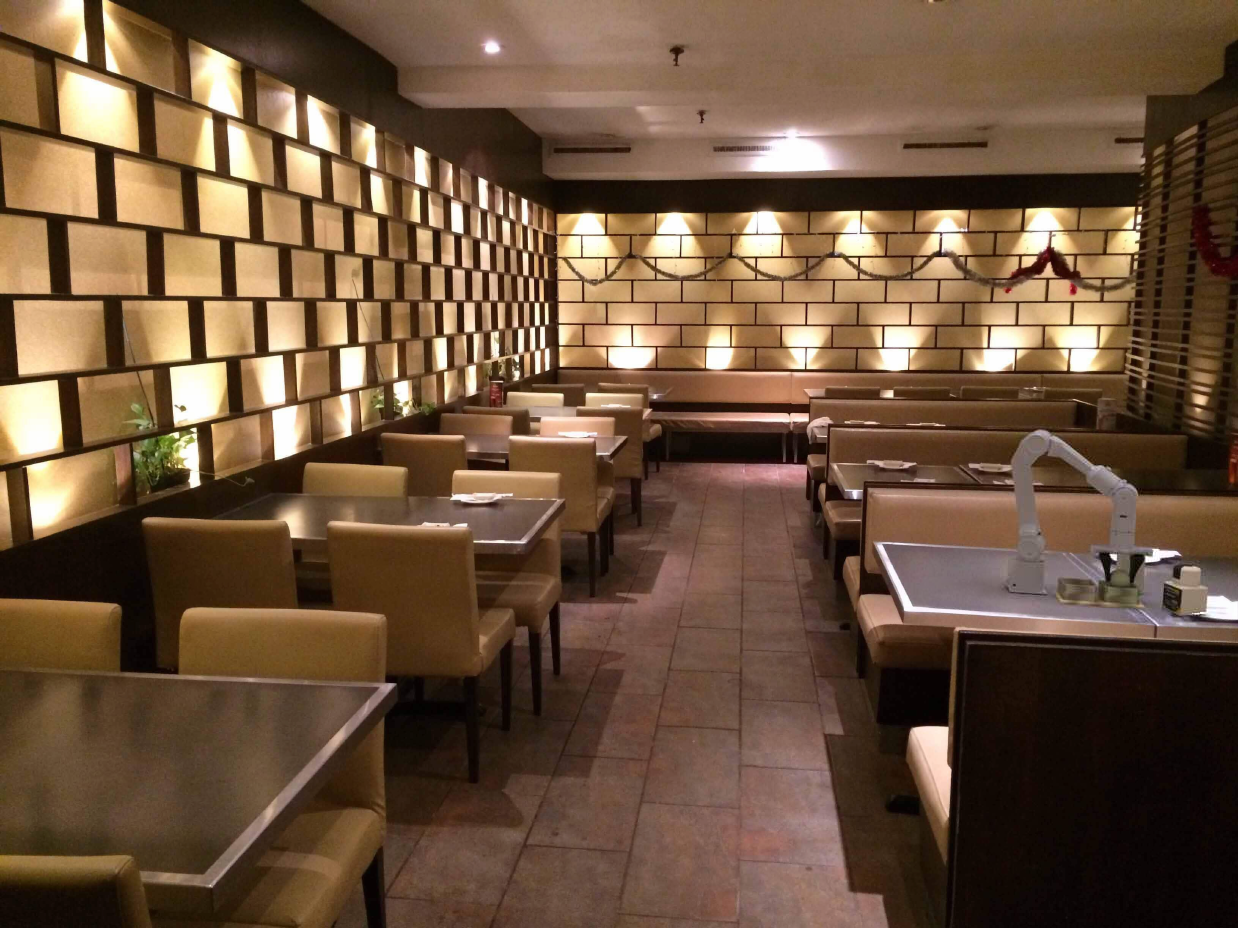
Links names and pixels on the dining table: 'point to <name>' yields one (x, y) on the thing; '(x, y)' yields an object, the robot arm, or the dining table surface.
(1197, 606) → the medicine bottle
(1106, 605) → the sorting board
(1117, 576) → the sage ball
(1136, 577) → the skincare box
